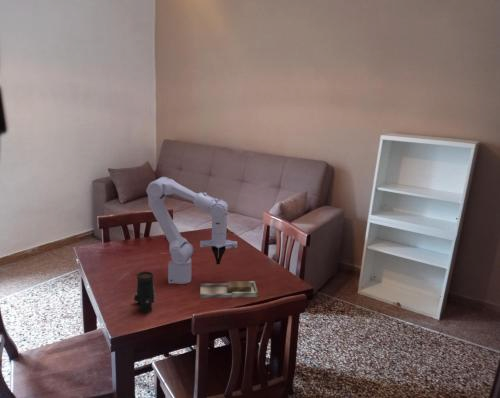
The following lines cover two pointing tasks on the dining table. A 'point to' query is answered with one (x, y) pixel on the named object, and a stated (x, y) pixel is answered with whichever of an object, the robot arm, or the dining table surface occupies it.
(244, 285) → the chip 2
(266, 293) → the dining table surface
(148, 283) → the scope
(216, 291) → the slot board
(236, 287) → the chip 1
